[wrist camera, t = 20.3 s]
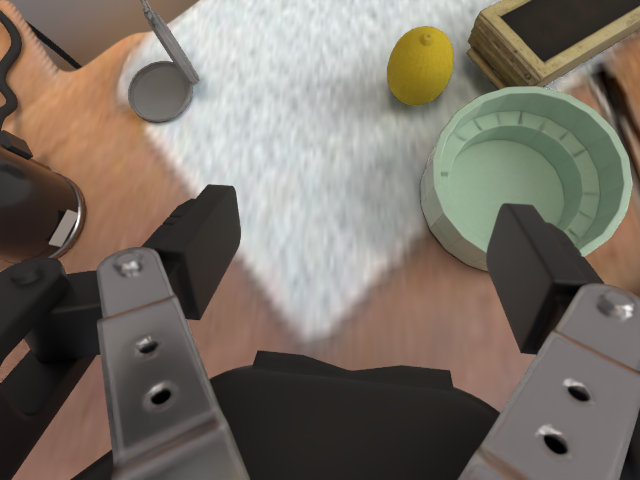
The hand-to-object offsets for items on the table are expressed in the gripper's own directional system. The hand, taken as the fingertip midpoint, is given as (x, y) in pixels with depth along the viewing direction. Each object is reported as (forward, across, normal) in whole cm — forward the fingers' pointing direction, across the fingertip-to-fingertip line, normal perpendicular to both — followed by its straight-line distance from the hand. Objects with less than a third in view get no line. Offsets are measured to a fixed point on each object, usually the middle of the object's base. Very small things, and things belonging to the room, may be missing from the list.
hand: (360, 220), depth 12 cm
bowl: (+22, -12, +10) cm, 27 cm away
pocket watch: (+29, +20, +3) cm, 35 cm away
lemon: (+29, -4, +3) cm, 30 cm away
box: (+34, -19, -2) cm, 39 cm away
